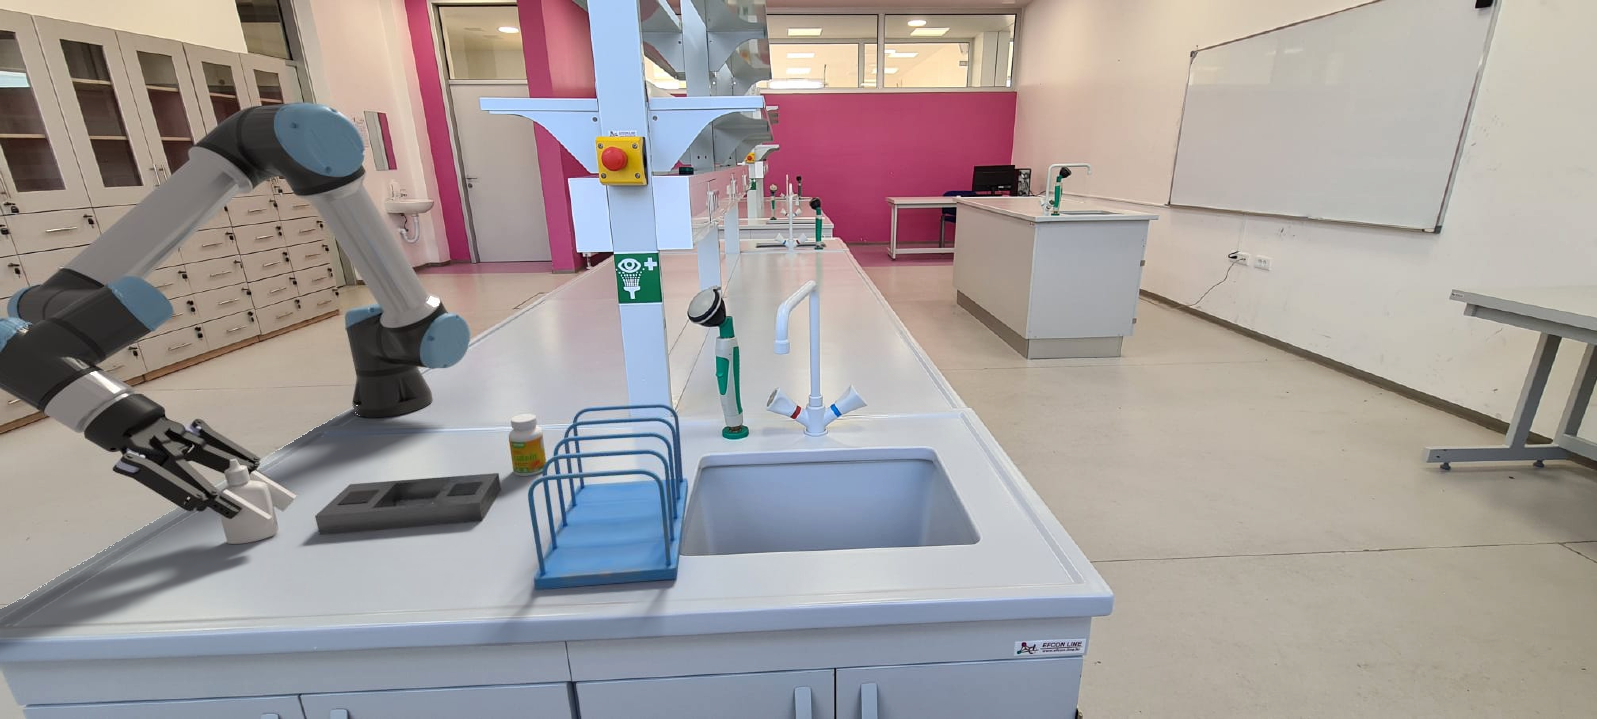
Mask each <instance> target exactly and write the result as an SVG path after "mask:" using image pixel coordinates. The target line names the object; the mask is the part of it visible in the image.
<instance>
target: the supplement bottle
mask: <svg viewBox="0 0 1597 719" xmlns="http://www.w3.org/2000/svg"><path fill="white" fill-rule="evenodd" d="M537 423H538V420H537V416H536V415H535V414H534V413H524V414H523V413H522V414H518V415H515V416H513V417H511V419H510V425H511V428H512V429H511V430H510V431H509V433H508V442H509V448H510V450H509V451H510V458H511V464H512V469H513V473H514V474H515V475H516V476H518V477H519V476H520V477H529V476H535V475H537V474H540V473H542V472H543V467H544V465H545V464H546V462H547V458H546V452H545V451H546V449H545V443H544V435H543V430H542V428H541V427H540V426H538V425H537Z"/></svg>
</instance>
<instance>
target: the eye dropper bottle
mask: <svg viewBox="0 0 1597 719" xmlns="http://www.w3.org/2000/svg"><path fill="white" fill-rule="evenodd" d="M224 473H225V474H224V476H225V480H226V483H227V485H225V486H223V487H222V488H220V489H218V490H219V492H220V493H219V495H220V494H221V493H222V492H223V491H225V490H226V489H227V490H229V491H230V492H232V493H234V494H235V495H237V496H239V497H240V498H242V499H244V500H245V501H247V502H249V503H250V504H252V505H254V506H255V507H257V508H259V509H260V510H262V511H264V512H265V513H267V514H269V515H270V516H272V517H271V519H270V520H269V521H268V522H267V523H266V524H265V525H264V526H263V528H262V529H261V530H260V531H259V532H257V533H256V532H254V531H252V530H251V529H249V528H247V527H246V526H244V525H242V524H240V523H239V522H237V521H235V520H234V519H229V518H226V517H224V516H223V515H221V514H220V513H218V515H219V518H220V521H221V524H222V528H223V532H224V536H225V539H226V542H227V543H228V544H230V545H240V544H248V543H253V542H254V543H255V542H257V541H261V540H265V539H267V538H268V539H269V538H271V537H273V536H275V535H276V534H277V532H278V530H279V524H278V519H277V516H276V513H275V512H276V511H275V508H274V506H273V504H272V500H271V496H270V493H269V489H268V486H267V484H266V483H264V482H260V481H253V480H250V476H249V472H248V469H247V466H244V465H240V464H239V463H238V461H237V459H232V460H230V467H229V468H228V469H227V470H225V472H224Z"/></svg>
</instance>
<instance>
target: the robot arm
mask: <svg viewBox="0 0 1597 719" xmlns="http://www.w3.org/2000/svg"><path fill="white" fill-rule="evenodd" d="M365 150H366V149H365V143H364V140H363V136H362V135H361V133H360V131H359V129H358V128H357V126H356V125H355V124H354V123H353V122H352V121H351V120H350V118H348V117H347V116H346V115H345V114H343V113H341V112H340V111H338V110H337V109H334V108H333V107H331V106H328V105H324V104H320V103H310V102H300V101H299V102H296V101H295V102H292V103H291V102H289V103H281V104H280V103H279V104H271V105H254V106H250V107H246V108H243V109H240V110H239V111H237V112H235V113H234V114H232V115H230V116H228V117H227V118H226V119H224V120H223V121H222V122H220V123H219V124H218V125H216V127H213V129H212V130H211V131H210V132H208V133H207V134H205V136H204V137H203V138H201V139H200V140H198V142H196V143H195V144H194V145H193V146H191V147H190V148H189V149H188V151H187V152H188V158H189V160H187V161H186V162H185V163H184V164H183V165H182V166H180V167H179V168H178V169H177V170H176V171H174V172H173V173H172V174H171V175H169V177H168V178H166V179H165V180H164V181H163V182H162V183H161V184H159V185H158V186H157V187H156V188H155V189H153V190H152V191H151V192H150V193H149V194H147V196H145V197H144V198H143V199H142V200H140V201H139V202H138V203H137V204H136V205H135V206H134V207H132V208H130V210H129V211H128V212H127V213H125V214H124V215H123V216H122V217H121V218H119V219H118V220H117V221H115V223H114V224H112V225H111V226H110V227H109V228H107V229H106V230H105V231H104V232H103V233H101V235H99V236H98V237H97V238H96V239H95V240H94V241H92V242H91V243H90V244H89V245H88V246H87V247H85V248H84V249H83V250H81V251H80V252H79V253H77V255H76V256H75V257H74V258H72V259H71V260H70V261H69V262H68V263H67V264H65V265H64V266H63V267H62V268H60V269H58V271H57V272H55V273H54V274H52V276H50V277H49V278H48V279H47V280H45V281H44V282H43V283H42V284H41V283H39V284H35V285H30V286H27V287H24V288H21V289H20V290H18V291H16V292H15V293H14V294H13V295H12V296H11V297H10V298H9V300H8V302H7V306H6V312H7V316H8V317H2V318H0V389H1V390H2V391H4V392H6V393H7V394H9V395H11V396H13V397H14V398H17V399H18V400H20V401H22V402H24V403H25V404H27V405H28V406H31V407H32V408H34V409H36V410H37V411H38V412H39V411H40V412H41V413H43V414H44V415H46V416H48V417H50V418H52V419H53V420H55V421H56V422H59V423H60V424H62V425H63V426H65V427H67V428H69V429H70V430H72V431H73V432H76V433H79V434H80V433H81V434H82V433H83V435H84V438H85V439H86V440H88V441H89V442H91V443H93V444H95V445H97V446H98V447H100V448H101V449H103V450H105V451H107V452H109V453H117V452H120V453H121V455H122V456H121V457H120V458H119V460H118V461H117V462H116V463H115V464H114V466H113V467H112V471H113V472H114V473H116V474H118V475H121V476H124V477H128V478H131V479H133V480H135V481H137V482H138V483H140V484H141V485H143V486H144V487H146V488H147V489H150V490H151V491H152V492H155V493H156V494H158V495H159V496H161V497H163V498H164V499H167V501H170V503H173V504H174V505H175V506H178V507H179V508H181V509H183V510H184V511H187V512H193V511H194V510H196V511H197V512H204V511H206V510H207V508H209V509H210V510H212V511H214V512H216V513H217V514H219V513H220V514H221V515H223V516H224V517H226V518H229V519H234V520H235V521H237V522H239V523H240V524H242V525H244V526H246V527H247V528H249V529H251V530H252V531H254V532H256V533H257V532H259V531H260V530H261V529H262V528H263V526H264V525H265V524H266V523H267V522H268V521H269V520H270V519H271V517H272V516H270V515H269V514H267V513H265V512H264V511H262V510H260V509H259V508H257V507H255V506H254V505H252V504H250V503H249V502H247V501H245V500H244V499H242V498H240V497H239V496H237V495H235V494H234V493H232V492H230V491H229V490H227V489H226V490H225V491H223V492H222V493H221V494H220V495H219V493H220V492H219V490H220V489H219V488H217V487H215V486H214V485H213V484H212V483H211V482H210V480H208V479H207V478H205V476H204V475H202V474H201V473H200V472H199V471H198V470H197V469H196V468H194V467H193V466H192V465H191V464H190V462H194V463H196V464H199V465H202V466H204V467H206V468H209V469H211V470H214V471H216V472H219V473H221V474H223V475H225V473H224V472H225V470H227V469H228V468H229V467H230V460H232V459H237V461H238V463H239V464H240V465H244V466H247V469H248V472H249V476H250V480H253V481H260V482H264V483H266V484H267V486H268V489H269V493H270V496H271V500H272V504H273V507H275V509H278V510H279V511H282V512H284V511H285V510H287V508H288V507H289V506H290V505H291V504H292V503H293V502H294V500H296V498H297V497H298V495H297V494H294V493H293V492H291V491H290V490H288V489H287V488H285V487H283V486H282V485H281V484H279V483H277V481H275V479H273V478H272V477H269V476H267V475H266V474H265V473H263V472H262V471H261V470H258V467H260V465H261V458H260V457H259V456H257V455H256V454H255V453H253V452H251V451H249V450H248V449H246V448H244V447H242V446H240V445H239V444H237V443H236V442H235V441H233V440H231V439H229V438H228V437H226V436H224V435H222V434H221V433H219V432H218V431H216V430H214V429H213V428H212V427H211V426H209V425H208V423H207V422H205V420H203V419H201V418H195V419H194V420H193V421H192V423H188V424H182V423H180V422H178V421H176V420H175V421H174V420H171V419H169V418H168V417H167V416H166V409H165V407H164V406H162V405H160V404H159V403H157V402H156V401H154V400H152V398H149V397H148V396H146V395H144V394H142V393H136V392H135V391H136V390H135V388H134V387H133V386H131V385H129V384H127V383H125V381H122V379H119V378H118V377H116V376H114V375H113V374H110V372H108V371H106V370H104V369H103V368H101V367H99V366H98V365H99V364H101V363H103V362H104V361H106V360H108V359H109V358H110V357H112V356H114V355H116V354H118V353H119V352H120V351H123V350H124V349H125V348H127V347H129V346H130V345H132V344H133V343H135V342H137V341H139V340H140V339H142V338H143V337H145V336H147V335H148V334H150V333H151V332H152V333H153V332H156V330H157V329H158V328H159V327H161V326H162V325H163V324H165V323H166V322H168V321H169V320H170V319H171V318H172V317H173V315H174V310H175V309H174V307H173V305H172V303H171V301H170V299H169V298H167V296H165V294H164V293H163V292H162V291H160V289H158V288H157V287H156V286H154V285H153V284H152V283H150V282H148V281H147V280H146V279H147V278H148V277H150V275H151V274H153V273H154V272H155V271H156V270H157V269H158V268H159V267H160V266H161V265H163V263H165V262H166V261H167V260H168V259H169V258H170V257H171V256H172V255H173V254H174V253H175V252H176V251H178V250H179V248H181V247H182V246H183V245H184V244H185V243H186V242H187V241H189V239H191V237H193V236H194V235H195V234H196V233H197V232H198V231H199V230H200V229H201V228H203V226H205V225H207V223H208V222H209V221H211V219H212V218H213V217H214V216H215V215H217V214H218V213H219V212H220V211H221V210H222V209H223V208H224V207H225V206H226V205H228V203H229V202H231V200H233V199H234V198H236V196H237V195H238V194H243V195H244V194H245V195H247V194H250V193H251V192H252V191H253V190H254V189H255V188H257V187H258V186H259V185H260V184H262V183H264V182H267V181H268V180H270V179H274V178H277V177H283V178H284V180H285V181H286V183H287V184H288V186H289V187H290V190H292V191H293V193H294V195H295V196H296V197H298V198H300V199H304V200H306V201H310V202H311V204H312V205H313V206H314V207H315V209H316V210H317V212H318V214H319V215H320V217H321V218H322V220H323V221H324V223H325V224H326V225H327V227H328V229H329V231H330V232H331V234H332V235H333V237H334V238H335V240H336V242H338V244H339V246H340V247H341V249H342V250H343V252H344V253H345V255H346V256H347V258H348V259H349V261H350V263H351V264H352V266H353V267H354V269H355V270H356V272H357V273H358V275H359V277H360V278H361V280H362V282H363V283H364V284H365V285H366V288H368V290H369V291H370V294H371V295H372V296H373V298H374V300H375V301H376V303H375V304H370V305H365V306H360V307H355V308H351V309H348V310H347V311H346V312H345V315H344V321H345V322H344V323H345V327H344V329H345V331H346V333H347V339H348V342H349V347H350V352H351V356H352V361H353V366H354V367H353V368H354V369H355V370H354V372H355V375H356V376H355V377H356V381H355V385H354V391H353V397H352V403H351V404H352V409H353V408H354V409H353V412H354V411H355V412H356V414H358V415H360V416H359V417H361V416H365V417H364V418H386V417H393V416H399V415H404V414H408V413H411V412H415V411H418V410H420V409H423V408H425V407H427V406H429V405H430V404H431V403H432V402H433V399H434V398H433V393H432V390H431V388H430V387H429V385H428V382H427V381H426V380H425V378H424V376H423V374H422V372H421V371H420V370H419V368H425V369H426V368H427V369H431V370H435V369H448V368H451V367H453V366H455V365H457V364H458V363H459V362H460V361H461V360H463V358H464V357H465V355H466V353H467V351H468V349H469V344H470V342H471V332H470V331H471V330H470V327H469V325H468V323H467V321H466V320H465V318H463V316H461V315H459V314H457V313H454V312H448V310H447V309H446V307H445V305H444V304H443V302H442V300H441V298H440V297H439V296H438V295H437V294H434V293H429V292H427V291H426V288H425V286H424V285H423V283H422V281H421V280H420V279H419V277H418V275H417V273H416V271H415V270H414V268H413V267H412V265H411V264H410V261H409V260H408V258H407V257H406V254H405V253H404V251H403V250H402V248H401V246H400V245H399V243H398V241H397V239H396V238H395V236H394V235H393V233H392V231H391V230H390V228H389V227H388V224H387V223H386V221H385V219H384V217H383V216H382V215H381V213H380V211H379V209H378V208H377V205H376V203H375V202H374V200H373V199H372V197H371V196H370V194H369V192H368V191H367V189H366V187H365V186H364V180H365V177H366V175H367V170H366V168H365V167H364V166H363V162H364V160H365V155H364V154H363V153H364V152H365ZM356 405H358V406H356Z"/></svg>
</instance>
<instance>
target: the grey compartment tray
mask: <svg viewBox="0 0 1597 719" xmlns="http://www.w3.org/2000/svg"><path fill="white" fill-rule="evenodd" d="M501 491H502V487H501V480H500V475H499V472H498V473H497V472H496V473H483V474H482V473H481V474H480V473H479V474H470V475H469V474H468V475H458V476H457V475H455V476H443V477H442V476H441V477H427V478H414V479H413V478H412V479H402V480H401V479H400V480H391V481H390V480H389V481H375V482H373V481H372V482H361V483H360V482H359V483H350V484H348V485H347V486H346V488H344V489H343V490H342V491H341V492H340V493H338V495H336V496H335V498H333V499H332V500H331V501H329V503H328V504H326V506H324V508H321V510H320V511H319V512H318V513H317V514H315V516H314V517H315V521H316V526H317V530H318V534H319V536H321V535H331V534H332V535H333V534H344V533H353V532H354V533H355V532H369V531H380V530H391V529H401V528H412V527H413V528H414V527H426V526H436V525H437V526H438V525H439V526H440V525H447V524H451V525H452V524H461V523H474V522H482V521H484V519H485V517H486V515H487V514H488V513H489V510H490V509H491V507H492V506H493V504H494V502H495V500H497V499H496V498H497V497H498V496H499V494H500V493H501ZM424 499H433V500H432V502H431V503H422V504H410V505H398V506H397V504H398V503H399V502H400V501H411V500H424Z"/></svg>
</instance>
